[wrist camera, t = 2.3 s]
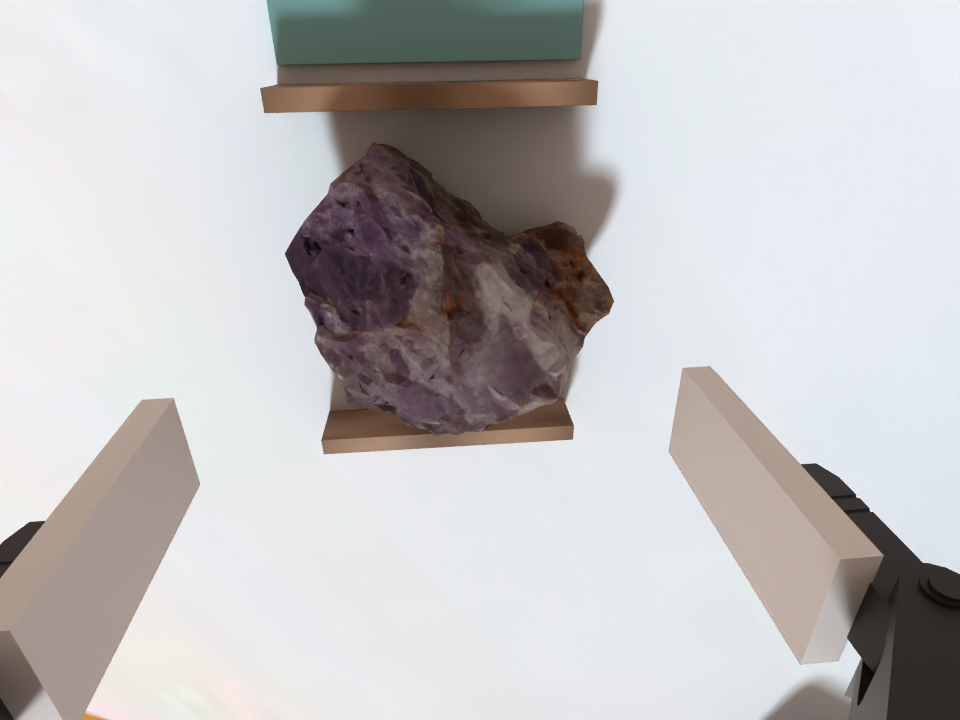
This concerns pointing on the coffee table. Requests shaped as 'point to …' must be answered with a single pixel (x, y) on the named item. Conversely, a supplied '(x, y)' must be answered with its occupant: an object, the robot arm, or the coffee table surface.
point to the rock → (440, 299)
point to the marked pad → (424, 30)
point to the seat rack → (375, 426)
